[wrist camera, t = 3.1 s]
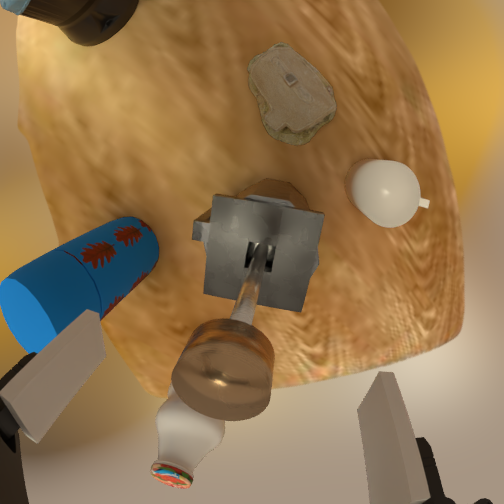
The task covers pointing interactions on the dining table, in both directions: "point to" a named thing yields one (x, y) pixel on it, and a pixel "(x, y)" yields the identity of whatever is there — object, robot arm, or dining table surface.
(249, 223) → the press body
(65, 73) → the dining table surface
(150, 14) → the dining table surface
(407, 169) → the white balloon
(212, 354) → the plunger
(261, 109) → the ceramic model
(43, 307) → the thermos
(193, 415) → the fruit juice
